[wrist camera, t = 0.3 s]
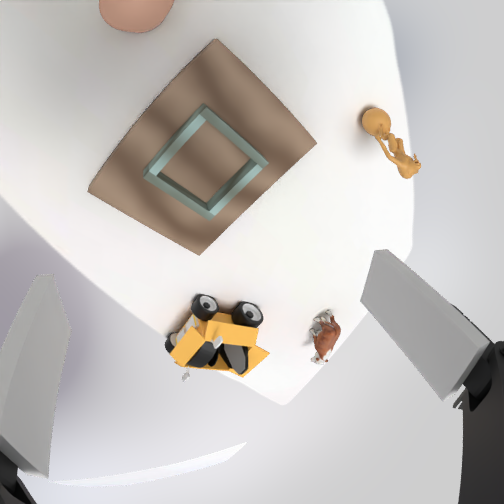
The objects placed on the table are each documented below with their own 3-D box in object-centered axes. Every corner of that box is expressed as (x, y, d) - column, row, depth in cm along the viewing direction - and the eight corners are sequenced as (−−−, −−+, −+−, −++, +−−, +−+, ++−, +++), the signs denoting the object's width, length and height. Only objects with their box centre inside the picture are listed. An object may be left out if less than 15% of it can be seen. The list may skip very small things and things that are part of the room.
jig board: (214, 38, 26) (221, 39, 24) (311, 139, 38) (324, 149, 35) (89, 185, 33) (84, 200, 30) (197, 248, 44) (201, 265, 42)
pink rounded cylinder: (143, -19, 19) (138, -46, 11) (177, 7, 23) (190, -7, 14) (108, 16, 21) (83, 8, 12) (143, 41, 24) (137, 44, 16)
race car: (194, 288, 50) (207, 342, 42) (264, 304, 58) (283, 350, 51) (159, 338, 56) (167, 387, 48) (223, 348, 64) (237, 390, 57)
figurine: (392, 116, 38) (451, 152, 30) (374, 150, 42) (428, 192, 33) (352, 93, 34) (415, 125, 26) (334, 132, 38) (389, 173, 29)
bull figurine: (299, 343, 73) (312, 370, 67) (318, 307, 64) (335, 337, 59) (314, 340, 74) (327, 366, 68) (335, 305, 66) (351, 333, 60)
